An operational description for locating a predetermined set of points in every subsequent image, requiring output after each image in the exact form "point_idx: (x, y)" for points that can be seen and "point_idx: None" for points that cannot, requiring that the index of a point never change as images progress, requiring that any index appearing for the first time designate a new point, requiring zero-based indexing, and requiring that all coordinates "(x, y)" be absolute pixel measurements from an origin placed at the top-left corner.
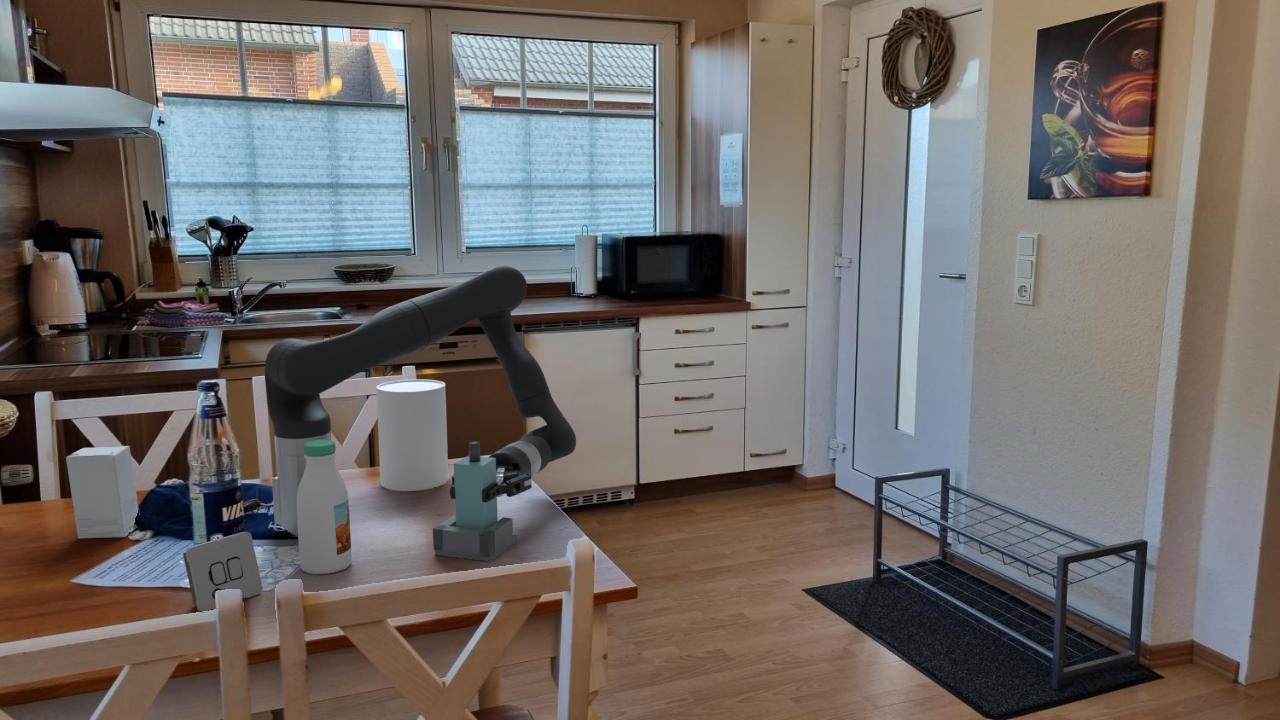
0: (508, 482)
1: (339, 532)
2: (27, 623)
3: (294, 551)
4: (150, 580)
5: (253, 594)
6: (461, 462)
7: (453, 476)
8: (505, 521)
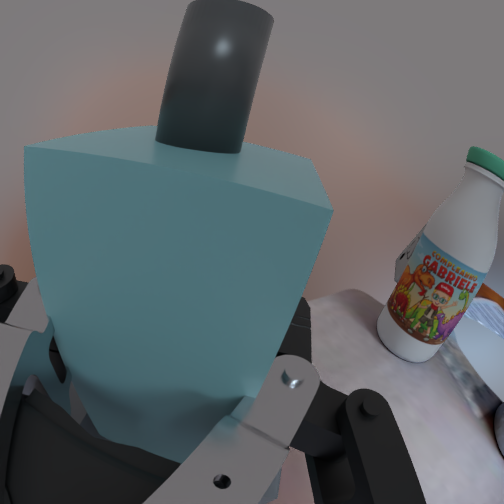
0: (8, 268)
1: (403, 274)
2: None
3: (468, 370)
4: (475, 304)
5: (395, 276)
6: (278, 153)
7: (376, 402)
8: (71, 389)
